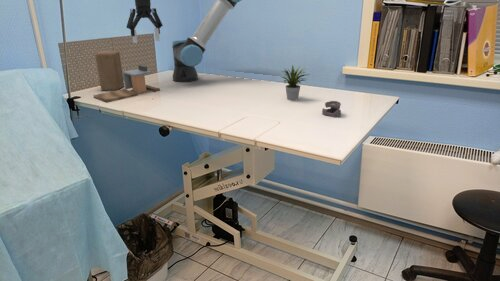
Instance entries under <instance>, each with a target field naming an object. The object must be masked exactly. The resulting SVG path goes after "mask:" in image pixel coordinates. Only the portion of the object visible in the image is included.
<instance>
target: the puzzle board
mask: <svg viewBox="0 0 500 281" xmlns="http://www.w3.org/2000/svg"><path fill="white" fill-rule="evenodd" d="M147 90H148V91H151V92H153V93H154V92H155V93H156V92H160V91H161V89H160V88H159V87H157V86H152V85H148V84H146V91H147ZM138 96H139V93H136V92H133V90H129V89H125V88H121V89H119V90H111V91H108V92H103V93H98V94H94V95H93V98H94V99H97V100H99V101H102V102H105V103H111V102H114V101H120V100H124V99H128V98H129V99H130V98H132V97H133V98H134V97H138Z"/></svg>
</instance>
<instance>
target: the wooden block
mask: <svg viewBox="0 0 500 281" xmlns="http://www.w3.org/2000/svg"><path fill="white" fill-rule="evenodd" d="M94 56H95V62H96V67H97V69H96V70H97V73H98V79H99V84H100V89H101V91H117V90H121V89H123V88H124V87H125V84H124V78H123V69H122V68H123V67H122V61H121V60H122V59H121V54H120V50H102V51H99V52H96V53H95V55H94Z"/></svg>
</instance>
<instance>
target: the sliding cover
mask: <svg viewBox="0 0 500 281" xmlns="http://www.w3.org/2000/svg"><path fill="white" fill-rule="evenodd" d="M137 67H138V69H131V70H125V71H122V73H123V80H124V89H126V90H129V89H133V87H132V80H131V75H132V76H139V75H144V76H145V75H150V74H152V73H153V71H152V70H151V71H150V70H148V66H146V65H142V64H140V65H137Z"/></svg>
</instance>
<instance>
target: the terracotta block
mask: <svg viewBox="0 0 500 281" xmlns="http://www.w3.org/2000/svg"><path fill="white" fill-rule="evenodd" d="M145 76H146V75H145V74H144V75H139V76H132V75H131V80H132V87H133V88H132V92H136V93H138V94H140V93H145V92H147V89H146V85H147V84H146V78H145Z"/></svg>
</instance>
